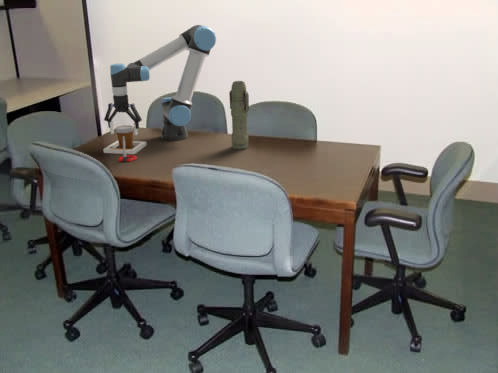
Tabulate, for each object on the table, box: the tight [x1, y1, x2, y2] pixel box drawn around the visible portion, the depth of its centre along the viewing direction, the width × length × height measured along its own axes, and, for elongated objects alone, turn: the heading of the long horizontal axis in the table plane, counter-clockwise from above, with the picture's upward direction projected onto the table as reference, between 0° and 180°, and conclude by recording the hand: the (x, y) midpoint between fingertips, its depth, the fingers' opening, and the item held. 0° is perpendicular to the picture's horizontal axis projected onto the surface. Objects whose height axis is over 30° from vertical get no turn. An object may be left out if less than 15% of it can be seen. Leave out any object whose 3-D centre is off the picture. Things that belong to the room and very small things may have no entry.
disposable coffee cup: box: [114, 124, 134, 149], centre depth 295 cm, size 10×10×12 cm
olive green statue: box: [228, 80, 250, 150], centre depth 290 cm, size 9×12×35 cm
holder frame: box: [103, 140, 148, 155], centre depth 297 cm, size 17×17×2 cm
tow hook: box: [118, 136, 138, 163], centre depth 278 cm, size 8×13×9 cm
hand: (124, 134), depth 294 cm, fingers open, 13 cm apart
